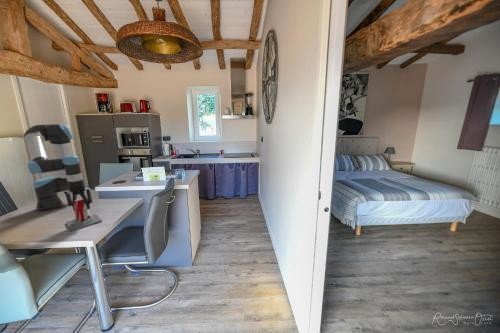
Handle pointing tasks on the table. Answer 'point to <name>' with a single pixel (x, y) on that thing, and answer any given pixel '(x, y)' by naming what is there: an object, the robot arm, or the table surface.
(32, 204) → the table surface
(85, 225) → the seat plate
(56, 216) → the table surface
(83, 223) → the collar
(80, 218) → the beverage can
